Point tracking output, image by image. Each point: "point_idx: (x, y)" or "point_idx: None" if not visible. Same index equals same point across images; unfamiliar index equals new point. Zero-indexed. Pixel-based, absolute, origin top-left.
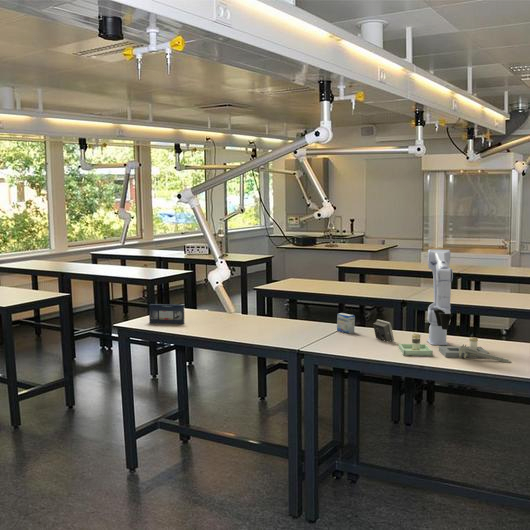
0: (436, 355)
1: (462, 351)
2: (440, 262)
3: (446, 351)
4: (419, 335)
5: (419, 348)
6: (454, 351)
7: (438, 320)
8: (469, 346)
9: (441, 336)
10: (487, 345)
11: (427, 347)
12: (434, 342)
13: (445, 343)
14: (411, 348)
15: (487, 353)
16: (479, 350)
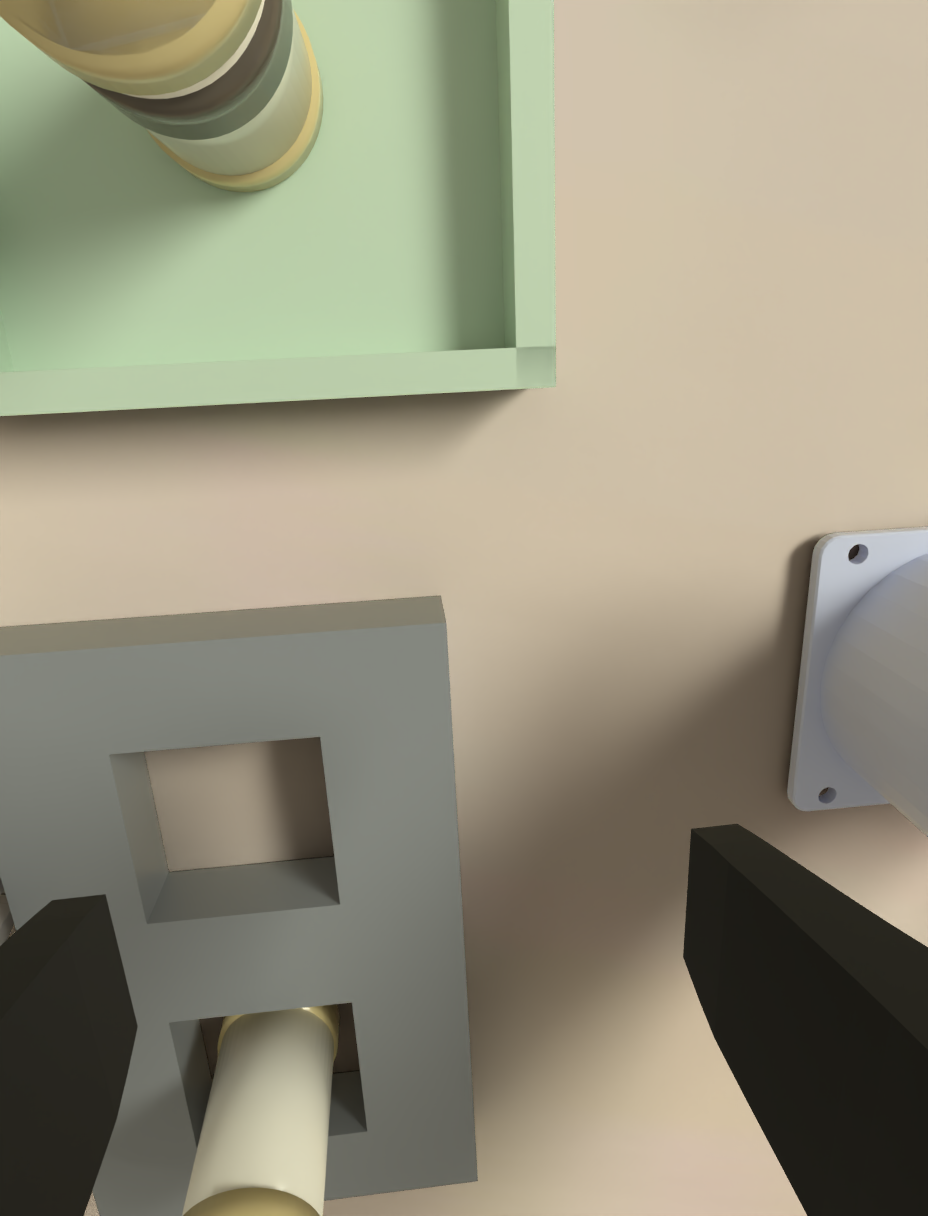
0: (81, 497)
1: (115, 934)
2: None
3: (35, 689)
4: (37, 12)
5: (180, 157)
6: (78, 820)
7: (805, 993)
8: (252, 1084)
9: (899, 767)
10: (771, 1210)
11: (252, 362)
12: (872, 604)
13: (841, 768)
14: (442, 29)
15: (100, 1207)
16: None
